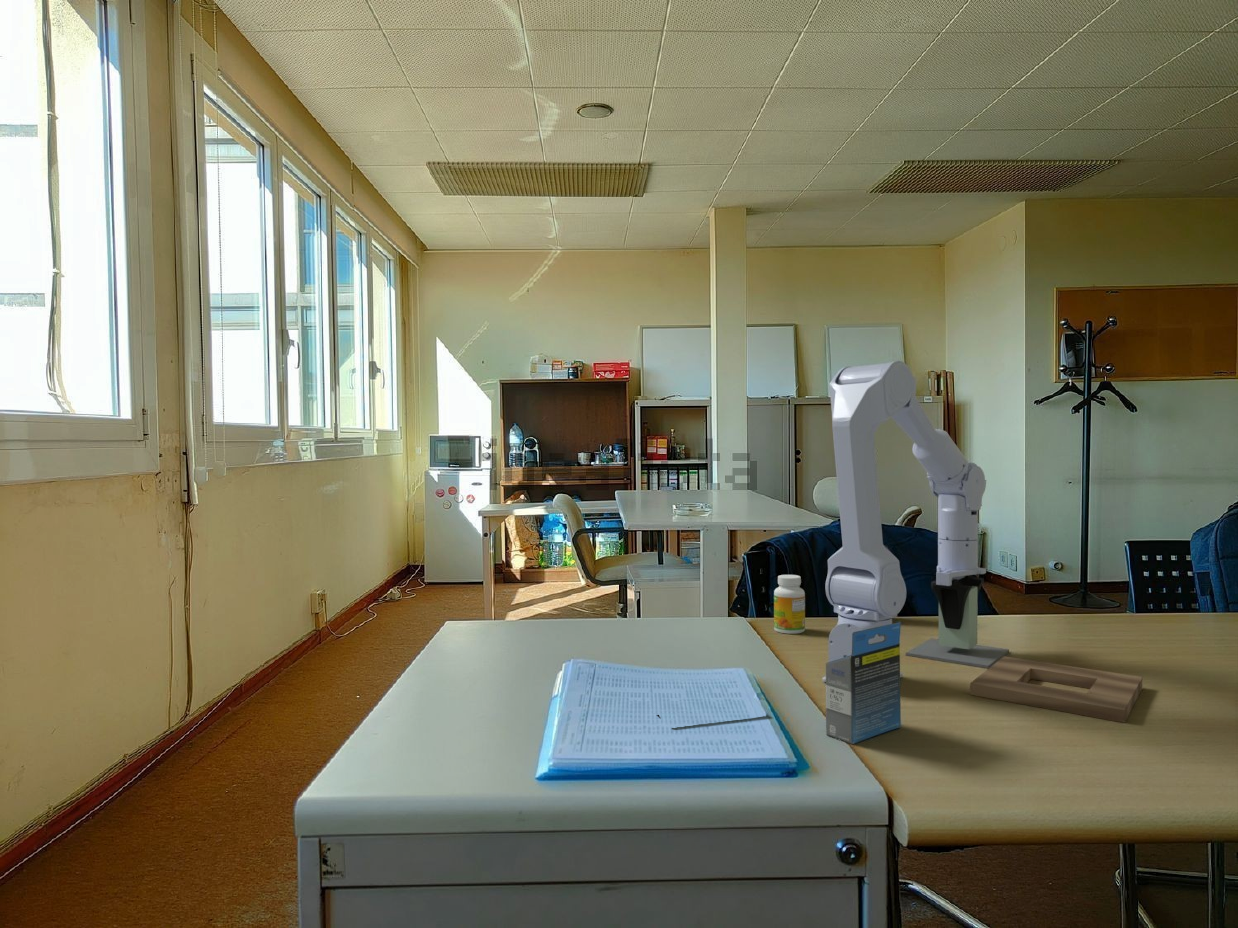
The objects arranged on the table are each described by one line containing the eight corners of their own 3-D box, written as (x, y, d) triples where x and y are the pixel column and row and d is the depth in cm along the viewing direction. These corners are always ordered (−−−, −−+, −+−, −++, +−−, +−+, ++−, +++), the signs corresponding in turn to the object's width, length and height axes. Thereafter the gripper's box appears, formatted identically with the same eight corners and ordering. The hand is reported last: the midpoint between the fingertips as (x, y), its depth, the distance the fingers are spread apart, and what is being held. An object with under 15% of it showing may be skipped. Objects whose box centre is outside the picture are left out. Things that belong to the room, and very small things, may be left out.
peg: (968, 649, 119) (969, 590, 119) (938, 644, 122) (938, 587, 122) (977, 643, 122) (977, 586, 122) (947, 639, 125) (947, 583, 125)
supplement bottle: (767, 629, 140) (767, 575, 140) (792, 626, 142) (792, 573, 142) (786, 635, 135) (786, 579, 135) (811, 632, 137) (811, 577, 137)
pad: (988, 668, 114) (988, 665, 114) (905, 655, 121) (905, 652, 121) (1009, 651, 123) (1009, 649, 123) (931, 640, 131) (931, 638, 131)
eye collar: (1124, 722, 91) (1124, 709, 91) (970, 694, 102) (970, 683, 102) (1142, 688, 104) (1142, 676, 104) (1003, 666, 115) (1003, 656, 115)
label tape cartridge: (873, 718, 93) (873, 615, 93) (902, 728, 90) (902, 621, 89) (824, 735, 88) (824, 625, 87) (853, 745, 84) (852, 632, 84)
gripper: (971, 545, 114) (971, 637, 114) (997, 536, 125) (997, 620, 125) (922, 541, 118) (922, 630, 118) (951, 533, 129) (951, 615, 130)
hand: (957, 625), depth 122 cm, fingers closed on peg, 4 cm apart
